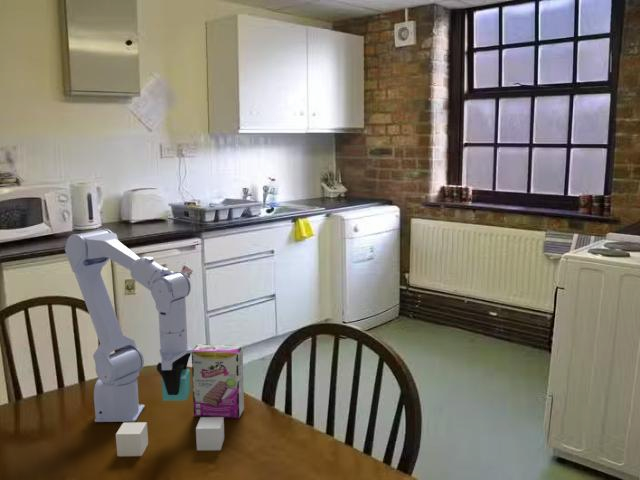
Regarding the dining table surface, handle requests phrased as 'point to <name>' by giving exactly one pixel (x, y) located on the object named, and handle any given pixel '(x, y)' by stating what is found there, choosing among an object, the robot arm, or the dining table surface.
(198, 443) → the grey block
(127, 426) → the offwhite block
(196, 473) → the dining table surface
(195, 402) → the candy bar box
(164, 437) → the dining table surface
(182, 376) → the teal block
